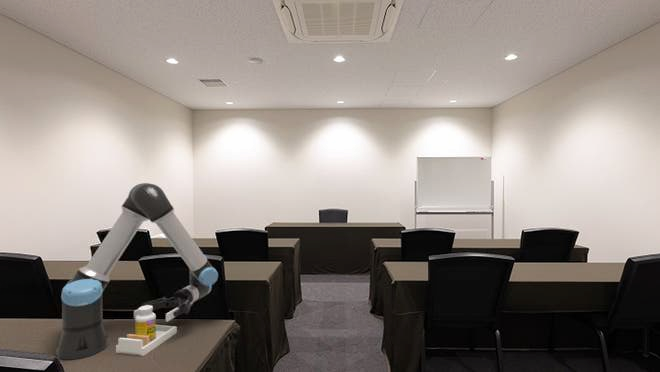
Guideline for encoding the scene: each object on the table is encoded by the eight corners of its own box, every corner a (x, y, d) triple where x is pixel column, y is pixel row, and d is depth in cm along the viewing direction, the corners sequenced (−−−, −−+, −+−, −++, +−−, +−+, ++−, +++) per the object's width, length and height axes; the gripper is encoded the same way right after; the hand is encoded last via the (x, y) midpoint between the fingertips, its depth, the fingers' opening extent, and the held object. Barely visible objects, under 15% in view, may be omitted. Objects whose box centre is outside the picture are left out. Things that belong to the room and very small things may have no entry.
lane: (115, 352, 121) (115, 338, 121) (152, 330, 139) (152, 318, 139) (143, 355, 119) (143, 341, 119) (176, 332, 136) (176, 320, 136)
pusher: (126, 346, 124) (126, 335, 124) (128, 344, 125) (128, 333, 125) (147, 348, 122) (147, 337, 122) (149, 347, 123) (149, 335, 123)
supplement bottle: (147, 347, 124) (146, 311, 123) (131, 345, 125) (130, 310, 125) (160, 338, 130) (159, 304, 130) (144, 337, 132) (144, 303, 131)
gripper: (212, 307, 147) (180, 329, 127) (160, 303, 152) (122, 323, 132) (211, 290, 147) (180, 308, 126) (160, 286, 152) (121, 303, 132)
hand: (150, 316), depth 129 cm, fingers open, 13 cm apart
